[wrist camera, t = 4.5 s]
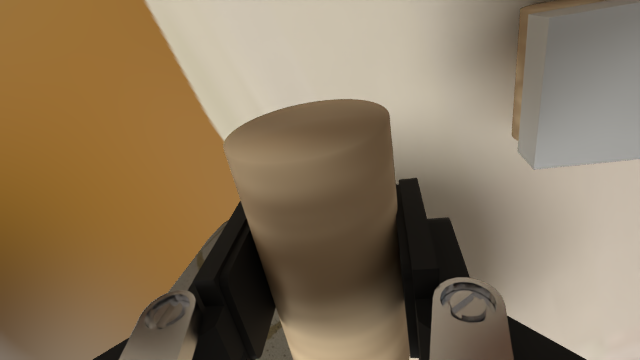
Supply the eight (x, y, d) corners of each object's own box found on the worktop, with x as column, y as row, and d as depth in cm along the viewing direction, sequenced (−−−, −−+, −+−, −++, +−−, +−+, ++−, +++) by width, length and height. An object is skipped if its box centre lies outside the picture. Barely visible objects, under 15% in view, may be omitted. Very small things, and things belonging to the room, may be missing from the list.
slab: (528, 14, 19) (549, 17, 17) (757, -26, 17) (814, -28, 15) (517, 151, 22) (533, 169, 20) (705, 131, 20) (745, 148, 18)
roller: (251, 110, 11) (194, 172, 7) (386, 91, 10) (393, 150, 6) (304, 300, 14) (282, 401, 11) (405, 297, 14) (416, 405, 10)
